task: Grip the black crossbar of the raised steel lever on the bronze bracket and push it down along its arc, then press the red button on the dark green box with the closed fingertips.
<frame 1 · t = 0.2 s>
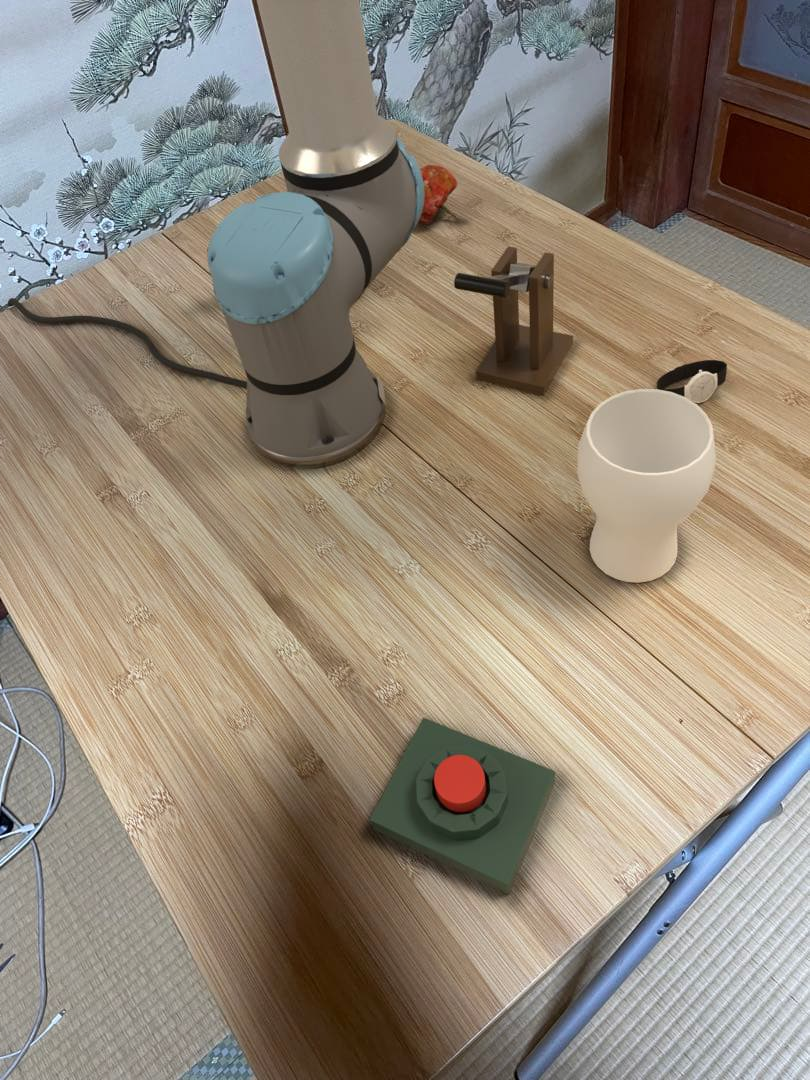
button box: (464, 806, 63), on the table
bracket: (525, 361, 94), on the table
button: (460, 783, 60), point 4 cm above the table, slide at 0.1 cm
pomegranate: (434, 219, 115), on the table
lever: (504, 280, 81), point 14 cm above the table, hinge at 30.0°
teapot: (298, 291, 108), on the table
watch: (689, 392, 88), on the table
cup: (632, 549, 76), on the table
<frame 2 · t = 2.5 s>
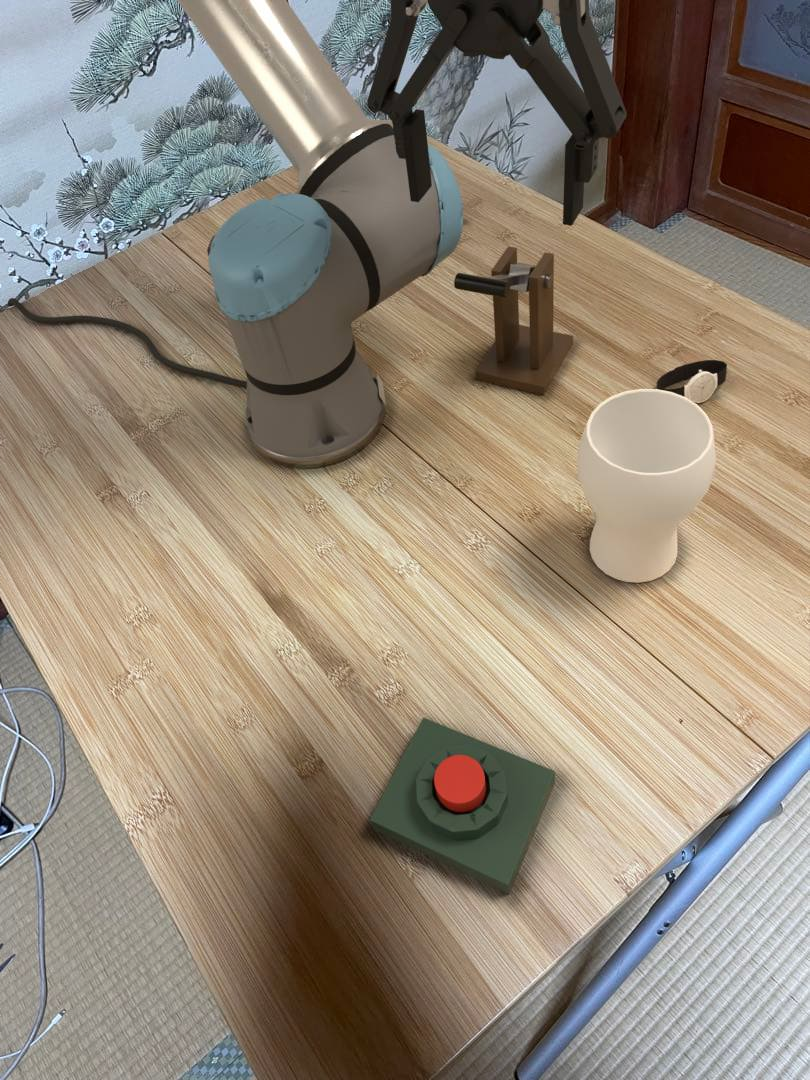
hand: (494, 204, 70), 24 cm above the table, tool pointing down, fingers open, 13 cm apart
nothing on the table moved.
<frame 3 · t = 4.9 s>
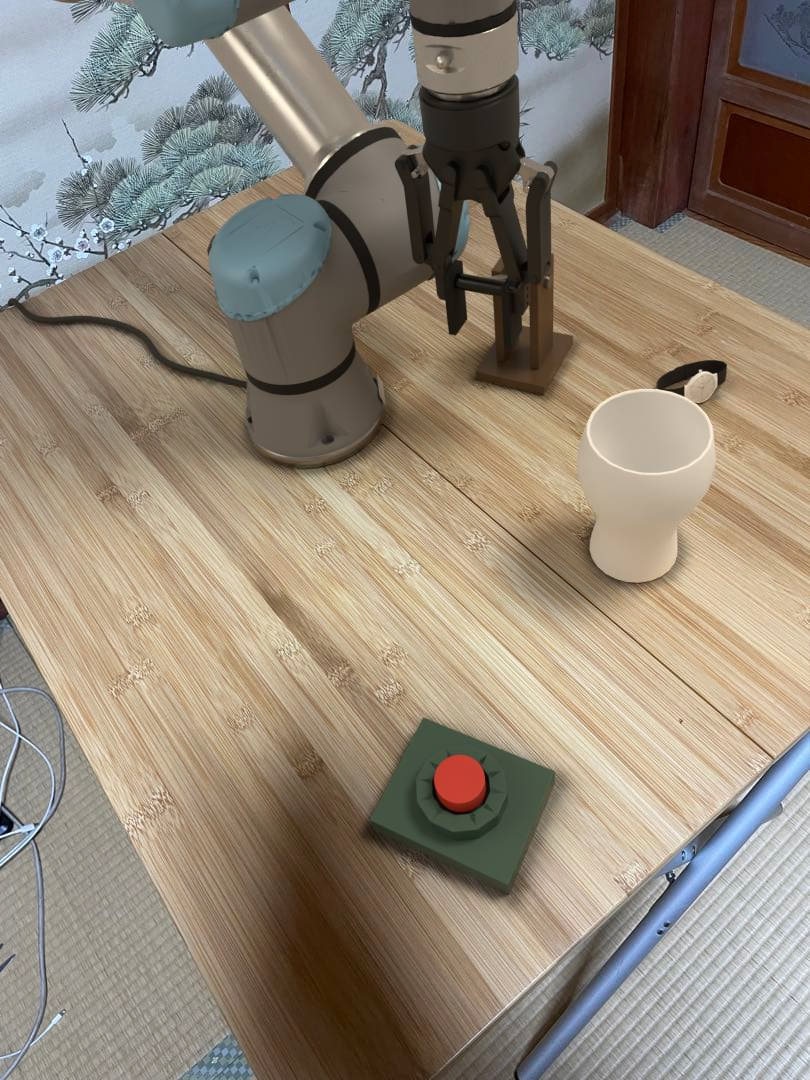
hand: (485, 331, 80), 11 cm above the table, tool pointing down, fingers closed on lever, 5 cm apart
lever: (504, 280, 81), point 14 cm above the table, hinge at 30.0°, touching gripper
everything else where it was.
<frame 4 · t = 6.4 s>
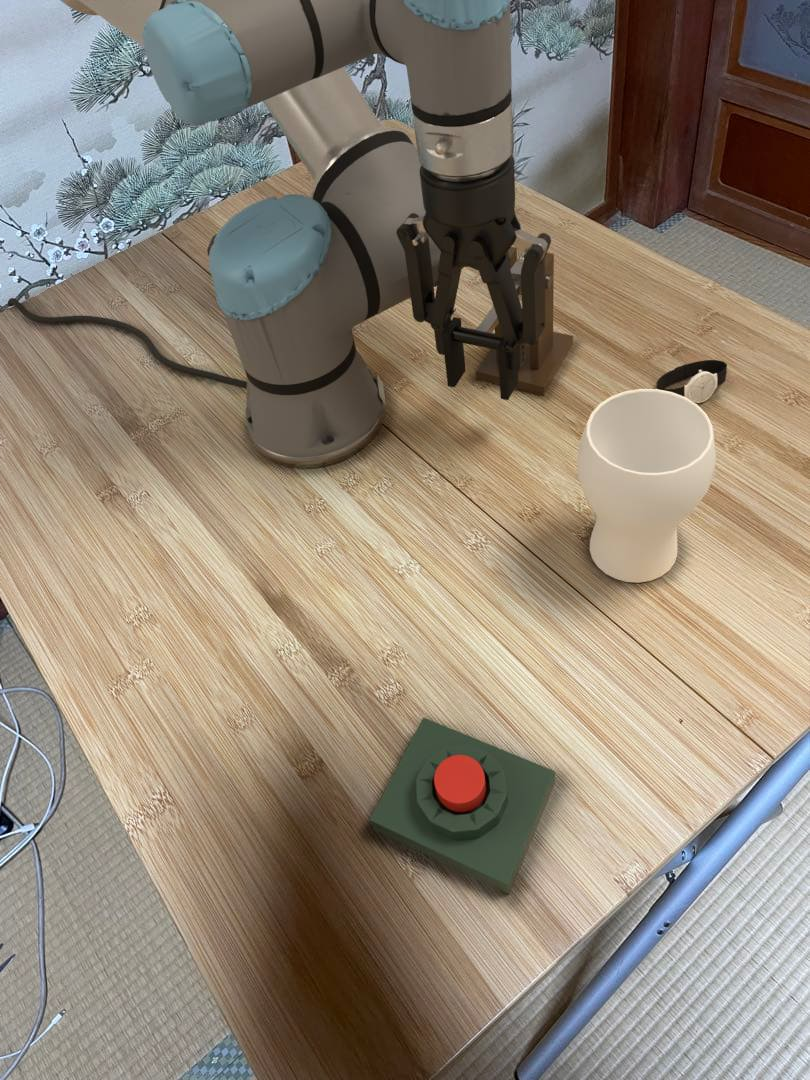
hand: (482, 384, 84), 6 cm above the table, tool pointing down, fingers closed on lever, 5 cm apart
lever: (503, 304, 82), point 11 cm above the table, hinge at 3.0°, touching gripper
everything else where it was.
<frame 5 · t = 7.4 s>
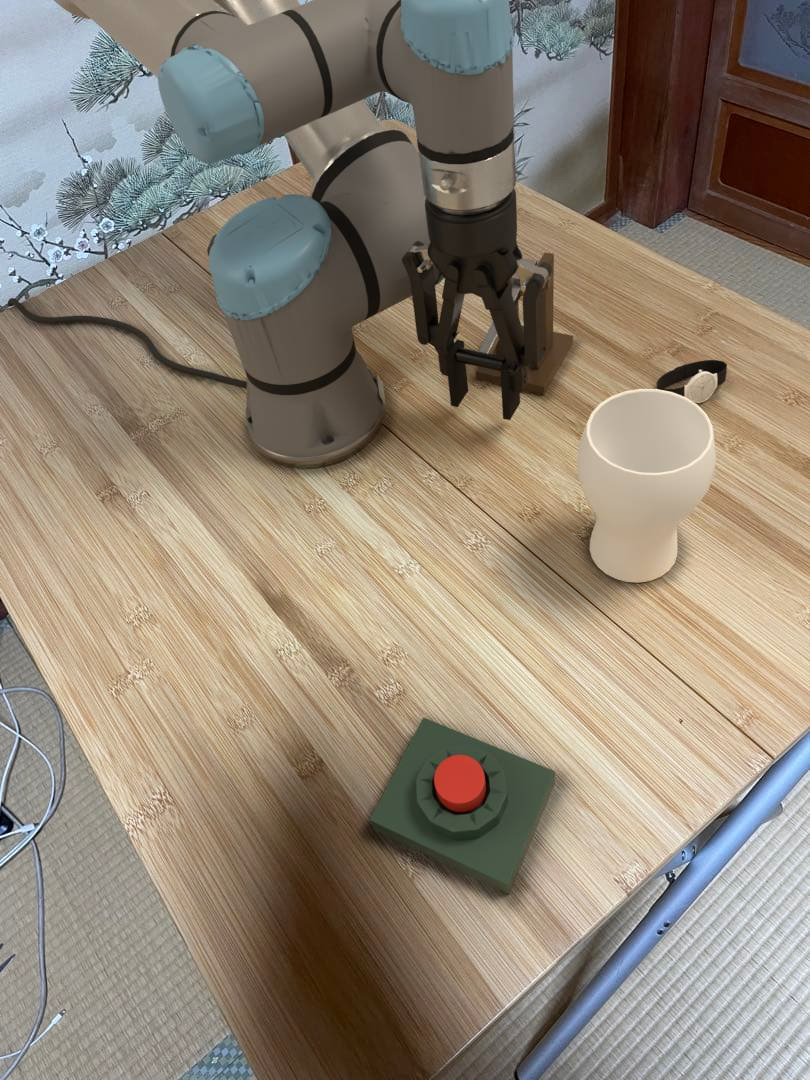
hand: (485, 404, 86), 3 cm above the table, tool pointing down, fingers open, 5 cm apart
lever: (503, 315, 83), point 10 cm above the table, hinge at -11.3°
everything else where it was.
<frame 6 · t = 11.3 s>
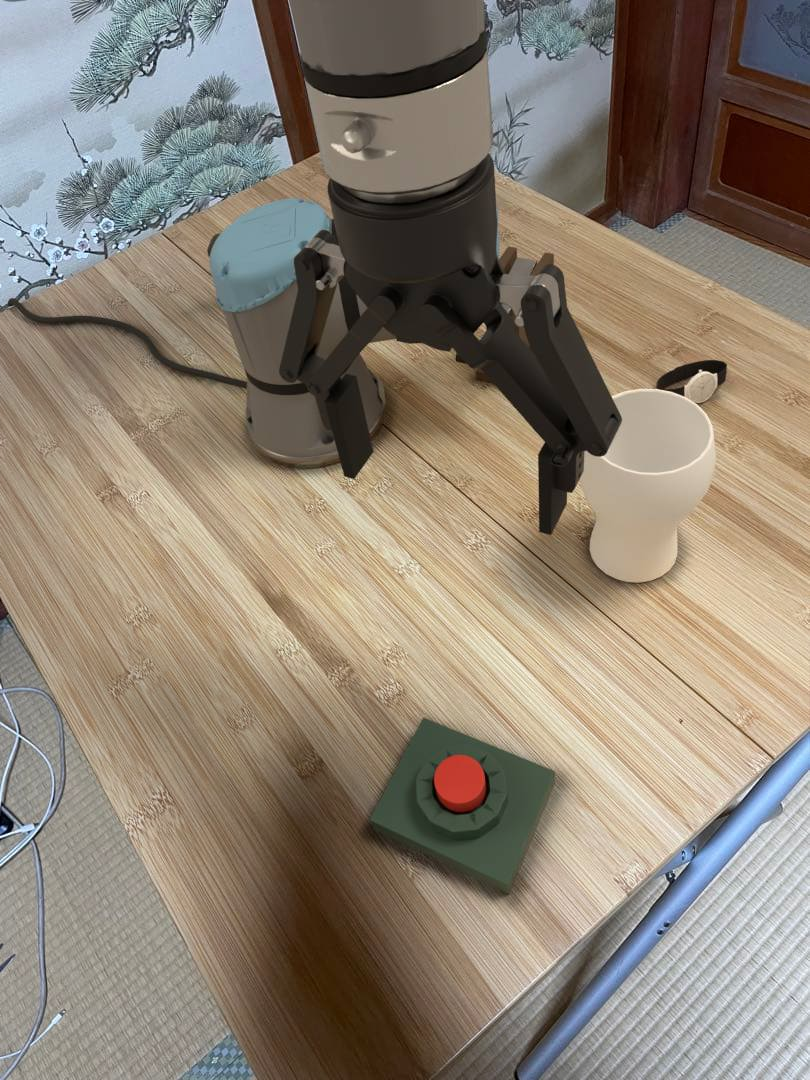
hand: (451, 490, 53), 23 cm above the table, tool pointing down, fingers open, 13 cm apart
nothing on the table moved.
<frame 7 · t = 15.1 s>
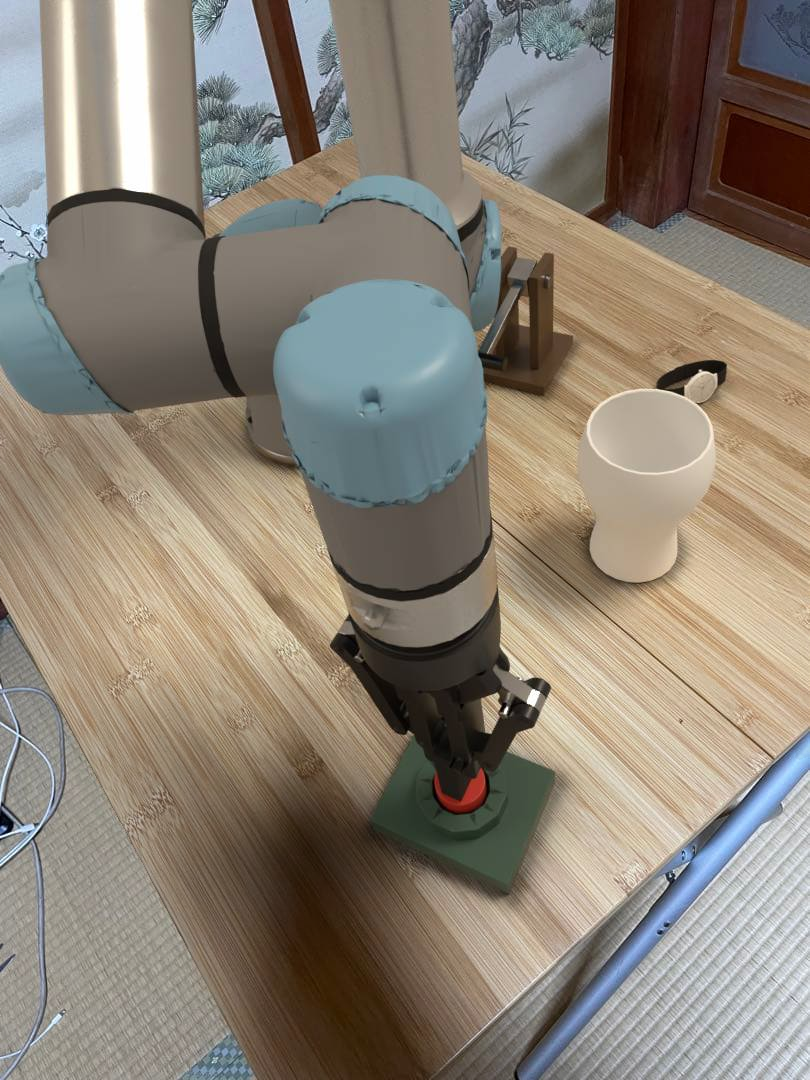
hand: (459, 780, 59), 5 cm above the table, tool pointing down, fingers closed
button: (460, 785, 60), point 4 cm above the table, slide at -0.2 cm, touching gripper
everything else where it was.
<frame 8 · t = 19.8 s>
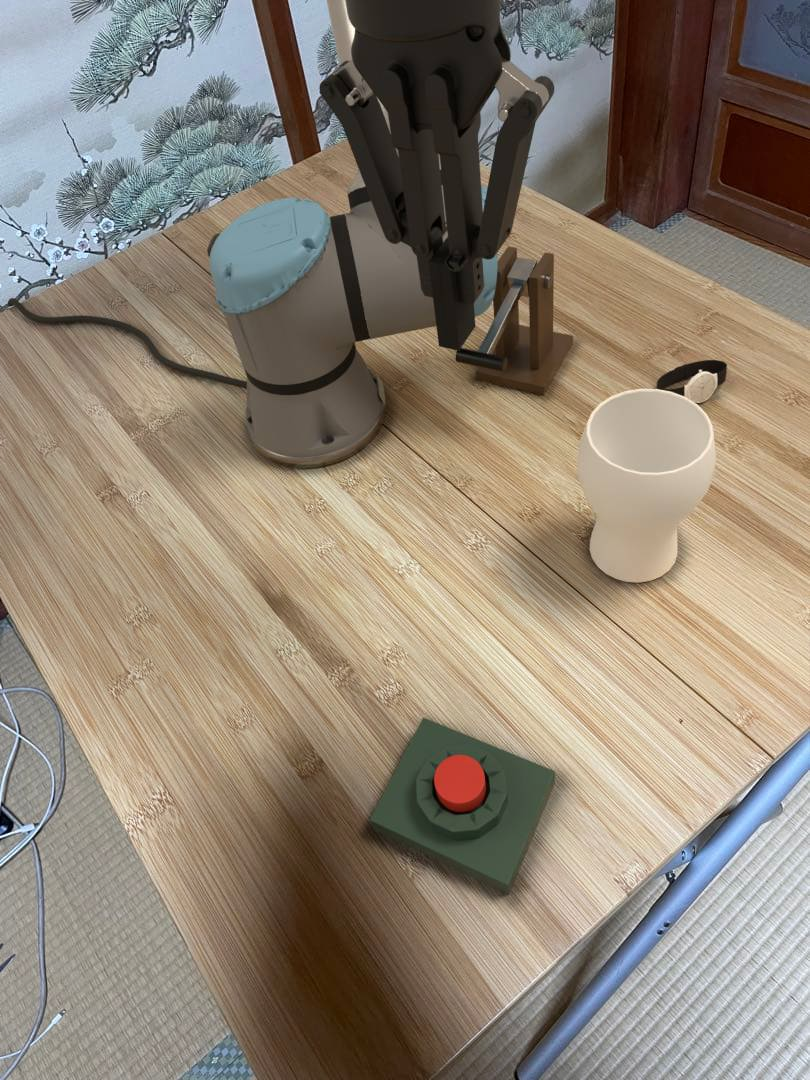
hand: (457, 336, 56), 26 cm above the table, tool pointing down, fingers closed
button: (460, 783, 60), point 4 cm above the table, slide at 0.1 cm
everything else where it was.
at the end: lever at -11° (first picture: +30°); button pushed in 1.0 cm at the most during the clip, back to where it started at the end; button slide at 0.1 cm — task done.
